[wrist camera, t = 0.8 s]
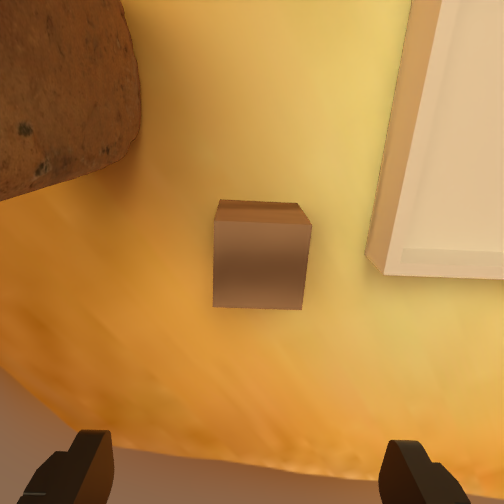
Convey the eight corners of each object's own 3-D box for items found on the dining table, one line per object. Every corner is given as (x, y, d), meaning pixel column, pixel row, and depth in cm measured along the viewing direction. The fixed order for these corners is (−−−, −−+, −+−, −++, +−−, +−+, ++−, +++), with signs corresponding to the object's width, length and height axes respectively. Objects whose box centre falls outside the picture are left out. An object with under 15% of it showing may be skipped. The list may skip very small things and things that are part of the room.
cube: (220, 199, 26) (214, 220, 20) (297, 203, 26) (312, 224, 21) (218, 270, 28) (212, 307, 23) (289, 272, 28) (301, 309, 23)
